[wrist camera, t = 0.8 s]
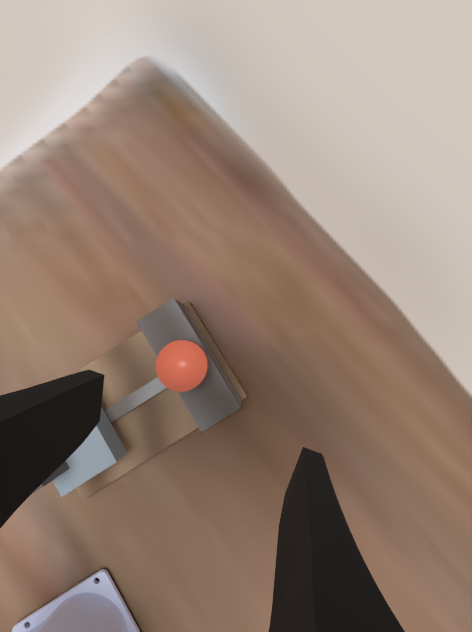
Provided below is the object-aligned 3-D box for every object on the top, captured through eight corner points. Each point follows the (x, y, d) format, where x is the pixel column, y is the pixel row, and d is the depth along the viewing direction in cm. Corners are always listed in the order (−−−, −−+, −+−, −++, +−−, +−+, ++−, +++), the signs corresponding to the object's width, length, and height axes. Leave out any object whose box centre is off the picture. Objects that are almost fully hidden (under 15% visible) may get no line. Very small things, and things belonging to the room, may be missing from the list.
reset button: (175, 399, 25) (172, 401, 24) (150, 357, 25) (146, 357, 24) (217, 373, 25) (216, 374, 24) (192, 331, 25) (189, 330, 24)
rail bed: (87, 495, 31) (56, 524, 26) (35, 399, 32) (-5, 409, 27) (247, 394, 31) (246, 404, 26) (190, 303, 32) (179, 294, 27)
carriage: (76, 484, 29) (33, 519, 23) (37, 412, 30) (-15, 428, 24) (127, 452, 29) (96, 479, 23) (87, 381, 30) (47, 389, 24)
